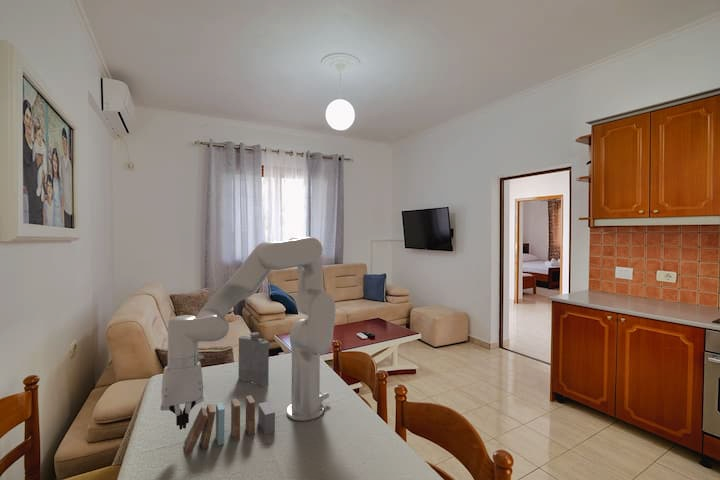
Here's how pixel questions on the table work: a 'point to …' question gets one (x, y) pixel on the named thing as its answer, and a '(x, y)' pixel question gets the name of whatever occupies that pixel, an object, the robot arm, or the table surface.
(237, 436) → the domino
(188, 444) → the domino
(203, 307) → the robot arm
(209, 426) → the domino
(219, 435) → the domino
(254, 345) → the hip flask
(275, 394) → the table surface
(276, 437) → the table surface
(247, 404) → the domino
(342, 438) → the table surface
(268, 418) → the end block
